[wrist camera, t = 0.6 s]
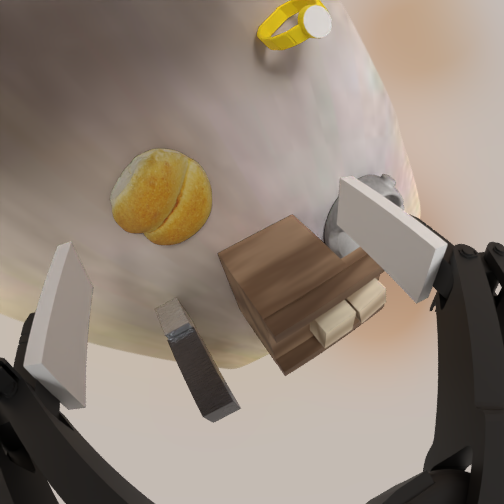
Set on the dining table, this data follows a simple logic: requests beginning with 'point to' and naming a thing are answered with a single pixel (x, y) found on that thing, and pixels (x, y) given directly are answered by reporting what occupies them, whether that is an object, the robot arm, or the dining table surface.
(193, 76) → the dining table surface
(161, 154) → the bread roll
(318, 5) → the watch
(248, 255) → the slot board
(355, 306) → the cream block
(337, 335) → the cream square block
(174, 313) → the dark gray upright block
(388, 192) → the dish
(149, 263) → the dining table surface
